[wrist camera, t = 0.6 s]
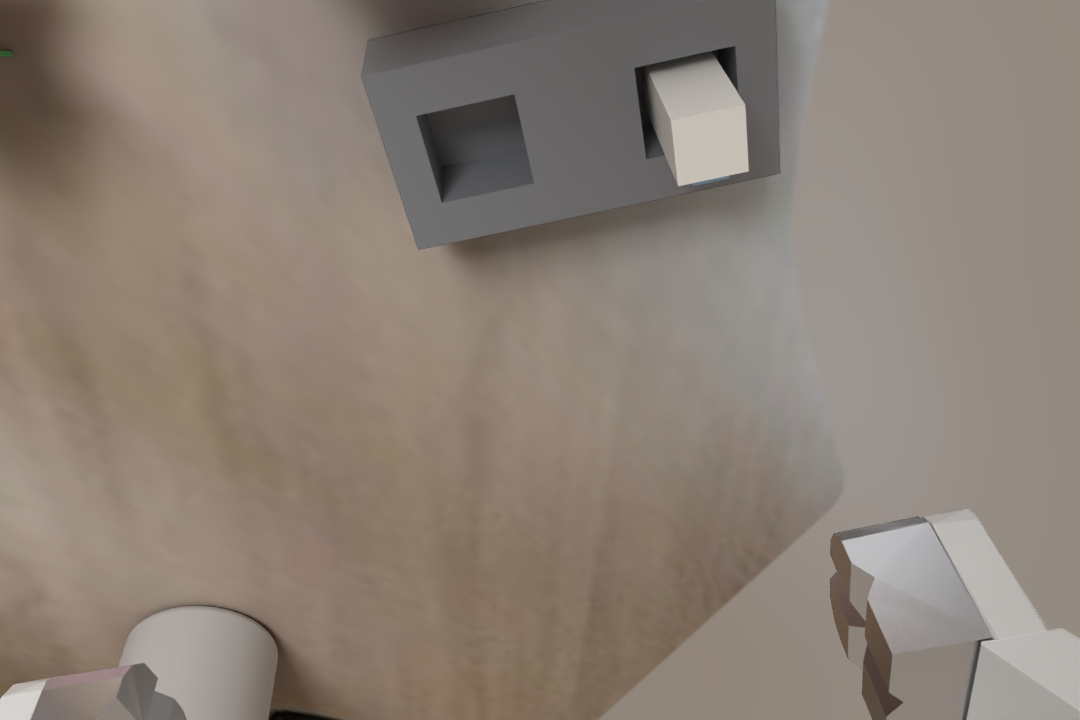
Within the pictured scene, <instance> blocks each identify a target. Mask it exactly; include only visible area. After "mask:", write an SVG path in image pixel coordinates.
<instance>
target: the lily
mask: <svg viewBox="0 0 1080 720" xmlns="http://www.w3.org/2000/svg"><path fill="white" fill-rule="evenodd" d="M0 56H3V57H12V56H13V52H12V51H4V50H0Z"/></svg>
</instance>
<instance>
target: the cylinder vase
mask: <svg viewBox="0 0 1080 720" xmlns="http://www.w3.org/2000/svg"><path fill="white" fill-rule="evenodd" d="M140 663H145V664H146V665H147V666H148V667H149V669H150V670H151V671H152V672H153V673H154V674H155V675H156V676H157V677H158V680H157V684H156V687H155V691H157V692H159V693H162V694H164V695H167V696H169V697H172V698H174V699H175V700H176V701H177V702H178V704H179V705H180V706H181V708H182V709H183V710H184V713H185V716H186V719H187V720H268V718H269V712H270V706H271V700H272V694H273V687H274V681H275V675H276V669H277V663H278V650H277V646H276V643H275V641H274V639H273V638H272V636H271V635H270V634H269V632H268V631H267V630H266V629H265V628H264V627H263V626H261V625H260V624H259V623H257V622H256V621H254V620H253V619H251V618H249V617H247V616H245V615H242V614H240V613H237V612H234V611H231V610H227V609H223V608H218V607H211V606H182V607H175V608H170V609H166V610H163V611H160V612H157V613H155V614H153V615H151V616H149V617H147V618H146V619H144V620H143V621H141V622H140V623H139V624H138V625H137V626H136V627H135V628H134V629H133V630H132V631H131V633H130V634H129V636H128V638H127V641H126V644H125V647H124V650H123V654H122V657H121V660H120V663H119V666H118V667H121V666H127V665H134V664H140Z"/></svg>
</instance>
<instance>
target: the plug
mask: <svg viewBox="0 0 1080 720" xmlns="http://www.w3.org/2000/svg"><path fill="white" fill-rule="evenodd" d="M640 68H641V76H642V84H643V92H644V100H645V108H646V111H647V113H648V116H649V118H650V121H651V123H652V125H653V128H654V130H655V133H656V135H657V137H658V140H659V142H660V144H661V147H662V149H663V152H664V154H665V156H666V159H667V161H668V164H669V166H670V168H671V171H672V173H673V175H674V178H675V180H676V183H677V185H678V186H682V185H687V184H692V185H693V186H696V185H700V184H705V183H710V182H714V181H719V180H724V179H729V178H730V176H729V175H734V174H739V173H744V172H748V171H749V165H748V146H747V127H746V108H745V103H744V102H743V100H742V99H741V97H740V95H739V94H738V92H737V91H736V89H735V87H734V86H733V84H732V83H731V81H730V80H729V78H728V76H727V75H726V73H725V72H724V70H723V69H722V67H721V65H720V64H719V62H718V61H717V59H716V57H715V56H714V54H713V53H712V51H709V52H705V53H700V54H695V55H691V56H686V57H682V58H677V59H673V60H668V61H664V62H659V63H655V64H650V65H645V66H641V67H640Z"/></svg>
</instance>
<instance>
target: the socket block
mask: <svg viewBox="0 0 1080 720" xmlns="http://www.w3.org/2000/svg"><path fill="white" fill-rule="evenodd" d="M709 51H712V53H713V54H714V56H715V57H716V59H717V61H718V62H719V64H720V65H721V67H722V69H723V70H724V72H725V73H726V75H727V76H728V78H729V80H730V81H731V83H732V84H733V86H734V87H735V89H736V91H737V92H738V94H739V95H740V97H741V99H742V100H743V102H744V103H745V108H746V127H747V146H748V165H749V171H748V172H744V173H739V174H734V175H729V176H730V178H729V179H724V180H719V181H714V182H710V183H705V184H700V185H696V186H693V185H692V184H687V185H682V186H678V185H677V183H676V180H675V178H674V175H673V173H672V171H671V168H670V166H669V164H668V161H667V159H666V156H665V154H664V152H663V149H662V147H661V144H660V142H659V140H658V137H657V135H656V133H655V130H654V128H653V125H652V123H651V121H650V118H649V116H648V113H647V111H646V108H645V100H644V92H643V84H642V76H641V68H640V67H641V66H645V65H650V64H655V63H659V62H664V61H668V60H673V59H677V58H682V57H686V56H691V55H695V54H700V53H705V52H709ZM361 78H362V81H363V84H364V87H365V90H366V93H367V96H368V99H369V102H370V105H371V108H372V111H373V114H374V117H375V120H376V123H377V127H378V130H379V133H380V136H381V139H382V142H383V145H384V148H385V151H386V154H387V157H388V160H389V163H390V166H391V169H392V172H393V175H394V178H395V181H396V184H397V187H398V190H399V193H400V196H401V200H402V203H403V206H404V209H405V212H406V215H407V218H408V221H409V224H410V227H411V230H412V233H413V236H414V239H415V242H416V245H417V248H418V250H421V249H426V248H430V247H435V246H440V245H444V244H449V243H454V242H459V241H463V240H468V239H473V238H478V237H482V236H487V235H492V234H496V233H501V232H506V231H511V230H515V229H520V228H525V227H530V226H534V225H539V224H544V223H549V222H553V221H558V220H563V219H567V218H572V217H577V216H582V215H586V214H591V213H596V212H601V211H605V210H610V209H615V208H619V207H624V206H629V205H634V204H638V203H643V202H648V201H653V200H657V199H662V198H667V197H671V196H676V195H681V194H686V193H690V192H695V191H700V190H705V189H709V188H714V187H719V186H723V185H728V184H733V183H738V182H742V181H747V180H752V179H757V178H761V177H766V176H771V175H775V174H780V149H779V113H778V77H777V41H776V5H775V0H544V1H540V2H535V3H531V4H526V5H522V6H518V7H513V8H509V9H504V10H500V11H495V12H491V13H487V14H482V15H478V16H473V17H469V18H464V19H460V20H456V21H451V22H447V23H442V24H438V25H433V26H429V27H425V28H420V29H416V30H411V31H407V32H402V33H398V34H394V35H389V36H385V37H380V38H376V39H371V40H368V43H367V48H366V53H365V59H364V64H363V70H362V75H361Z"/></svg>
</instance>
